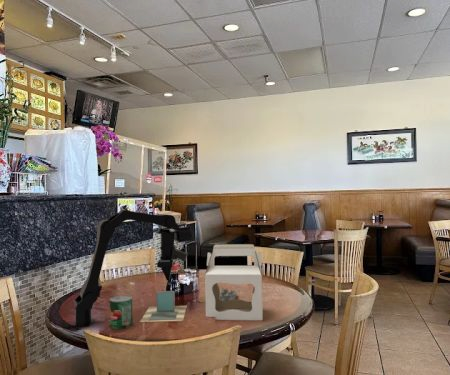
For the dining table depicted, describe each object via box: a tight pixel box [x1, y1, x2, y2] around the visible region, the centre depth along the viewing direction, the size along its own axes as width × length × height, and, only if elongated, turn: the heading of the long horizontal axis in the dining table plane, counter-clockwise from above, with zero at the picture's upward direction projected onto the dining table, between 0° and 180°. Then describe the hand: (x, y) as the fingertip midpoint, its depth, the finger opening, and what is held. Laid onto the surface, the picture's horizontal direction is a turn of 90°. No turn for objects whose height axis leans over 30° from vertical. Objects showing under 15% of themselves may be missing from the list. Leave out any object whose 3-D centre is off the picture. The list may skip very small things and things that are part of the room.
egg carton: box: [219, 287, 238, 301], centre depth 162 cm, size 11×8×4 cm
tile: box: [156, 290, 176, 312], centre depth 142 cm, size 2×7×8 cm, turn 91°
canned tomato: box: [109, 294, 133, 334], centre depth 127 cm, size 8×8×11 cm
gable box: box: [204, 243, 264, 321], centre depth 141 cm, size 22×13×28 cm, turn 84°
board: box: [139, 305, 188, 323], centre depth 140 cm, size 18×16×1 cm
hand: (168, 280), depth 150 cm, fingers closed
